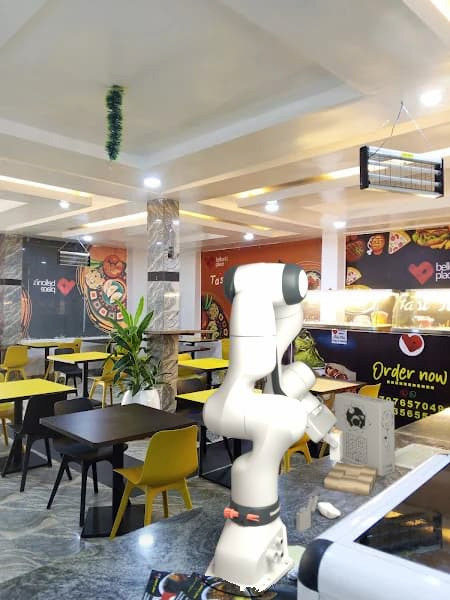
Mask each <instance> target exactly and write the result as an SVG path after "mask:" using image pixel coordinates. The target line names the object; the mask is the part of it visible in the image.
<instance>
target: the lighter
mask: <svg viewBox="0 0 450 600" xmlns="http://www.w3.org/2000/svg"><path fill="white" fill-rule="evenodd" d="M318 500H319V496H318V495H316V494H314V493H311V494H310V495H309V500H308V503H307V507H305V506H303V507H300V508H299V511H298V512H295V530H296V531H298V532H303V531H306V530H308V529H310V528H311V527H312V522H311V521H312V515H311V513H312V512H313V513H315V510H316V506H317V505H318Z"/></svg>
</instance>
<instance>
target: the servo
mask: <svg viewBox="0 0 450 600" xmlns="http://www.w3.org/2000/svg"><path fill="white" fill-rule="evenodd" d="M329 435H330V437H332V438H333V439H335V440H336V441H337V442H338V445H337V446H336V447H335V448H333V447H332V446H331V445H330V444H329V460H330V461H337V462H341V461H340V460H341V459H342V457H343V445H342V431H339V430H338V429H333V430H332V432H331V433H329Z"/></svg>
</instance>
